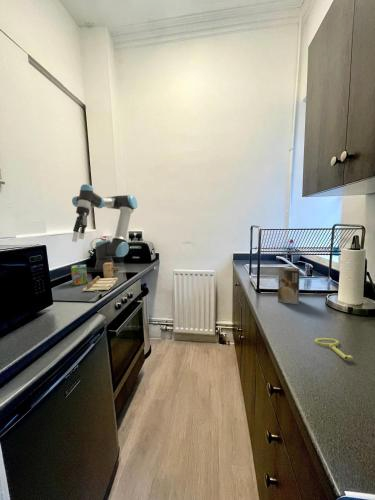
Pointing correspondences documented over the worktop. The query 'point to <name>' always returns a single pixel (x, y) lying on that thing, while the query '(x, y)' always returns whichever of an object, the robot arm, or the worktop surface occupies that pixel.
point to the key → (332, 347)
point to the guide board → (100, 284)
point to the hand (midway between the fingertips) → (77, 240)
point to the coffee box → (288, 285)
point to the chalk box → (79, 274)
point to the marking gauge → (109, 270)
